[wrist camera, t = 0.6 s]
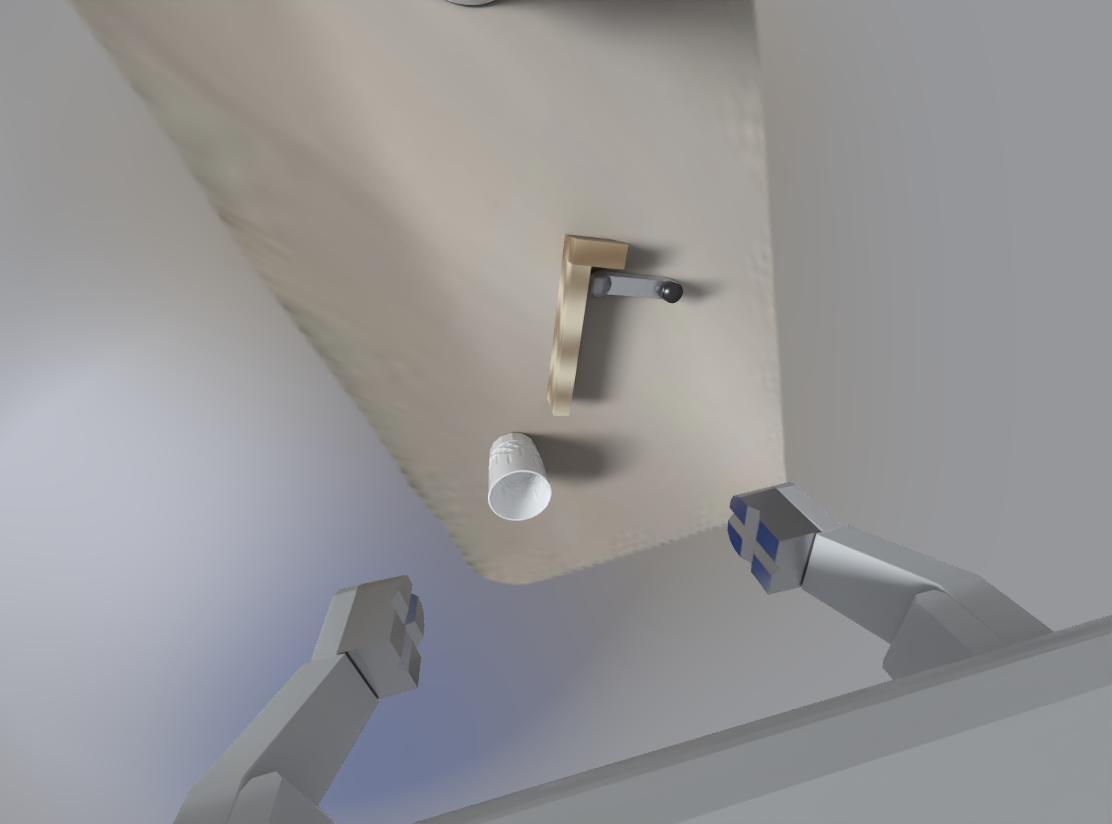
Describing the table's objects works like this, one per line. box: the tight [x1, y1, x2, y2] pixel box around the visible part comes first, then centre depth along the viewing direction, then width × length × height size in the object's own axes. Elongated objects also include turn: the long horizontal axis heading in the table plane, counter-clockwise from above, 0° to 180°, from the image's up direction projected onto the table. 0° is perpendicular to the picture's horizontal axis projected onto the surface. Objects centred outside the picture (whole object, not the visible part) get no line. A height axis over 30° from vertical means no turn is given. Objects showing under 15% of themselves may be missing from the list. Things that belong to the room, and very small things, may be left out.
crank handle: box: [588, 267, 683, 303], centre depth 47 cm, size 11×3×5 cm, turn 84°
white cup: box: [488, 433, 552, 521], centre depth 54 cm, size 8×8×10 cm
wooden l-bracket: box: [547, 234, 628, 416], centre depth 48 cm, size 20×6×6 cm, turn 174°
